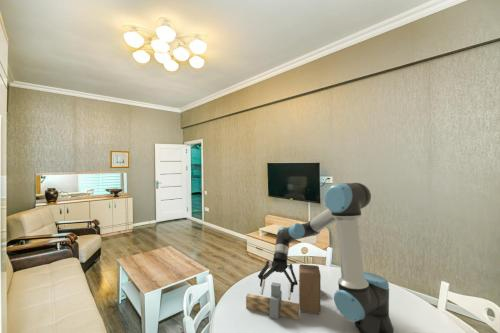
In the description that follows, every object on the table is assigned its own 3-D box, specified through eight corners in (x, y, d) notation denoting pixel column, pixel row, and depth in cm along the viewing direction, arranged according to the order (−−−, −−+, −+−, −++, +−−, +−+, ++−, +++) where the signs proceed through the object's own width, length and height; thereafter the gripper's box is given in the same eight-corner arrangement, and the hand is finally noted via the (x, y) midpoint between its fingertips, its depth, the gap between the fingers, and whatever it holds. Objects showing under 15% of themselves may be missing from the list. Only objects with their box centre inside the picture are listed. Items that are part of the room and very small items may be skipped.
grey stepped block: (273, 306, 116) (273, 279, 116) (281, 308, 115) (281, 280, 115) (269, 317, 108) (269, 287, 108) (278, 319, 107) (278, 289, 107)
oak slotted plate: (298, 316, 109) (298, 303, 109) (298, 319, 106) (298, 306, 106) (247, 305, 117) (247, 293, 117) (246, 308, 115) (246, 296, 115)
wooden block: (320, 315, 109) (320, 273, 109) (299, 312, 111) (299, 272, 111) (318, 303, 119) (318, 265, 119) (299, 300, 121) (299, 263, 121)
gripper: (304, 260, 123) (301, 303, 109) (260, 254, 131) (252, 294, 117) (303, 254, 118) (300, 298, 104) (257, 248, 126) (249, 289, 112)
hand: (275, 296), depth 111 cm, fingers open, 13 cm apart
